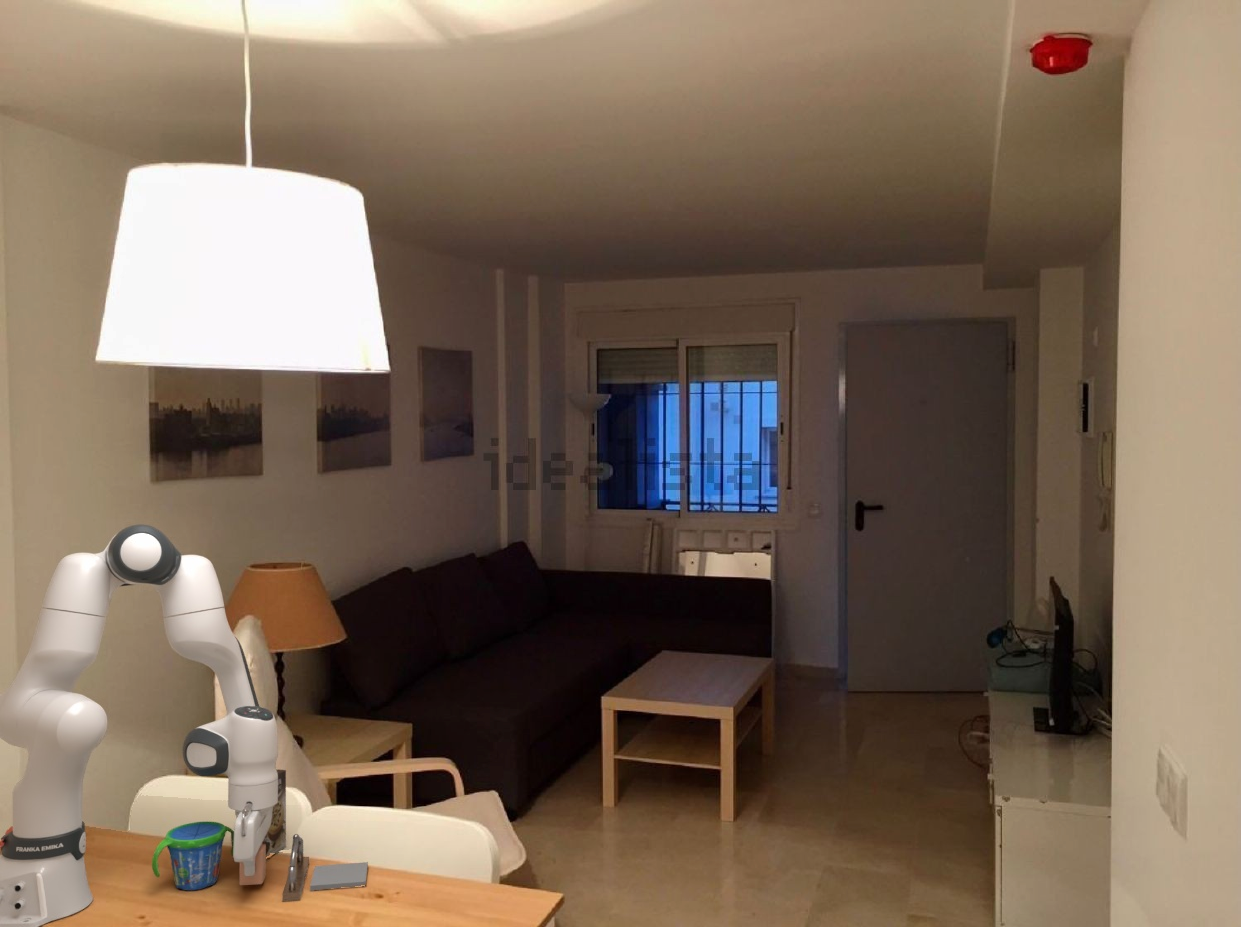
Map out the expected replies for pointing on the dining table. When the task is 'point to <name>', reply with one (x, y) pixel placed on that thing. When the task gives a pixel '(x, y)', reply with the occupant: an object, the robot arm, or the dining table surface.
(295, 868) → the metal door handle
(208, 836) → the snack cup
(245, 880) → the block
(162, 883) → the dining table surface
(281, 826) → the coffee box
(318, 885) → the mat
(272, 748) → the robot arm
